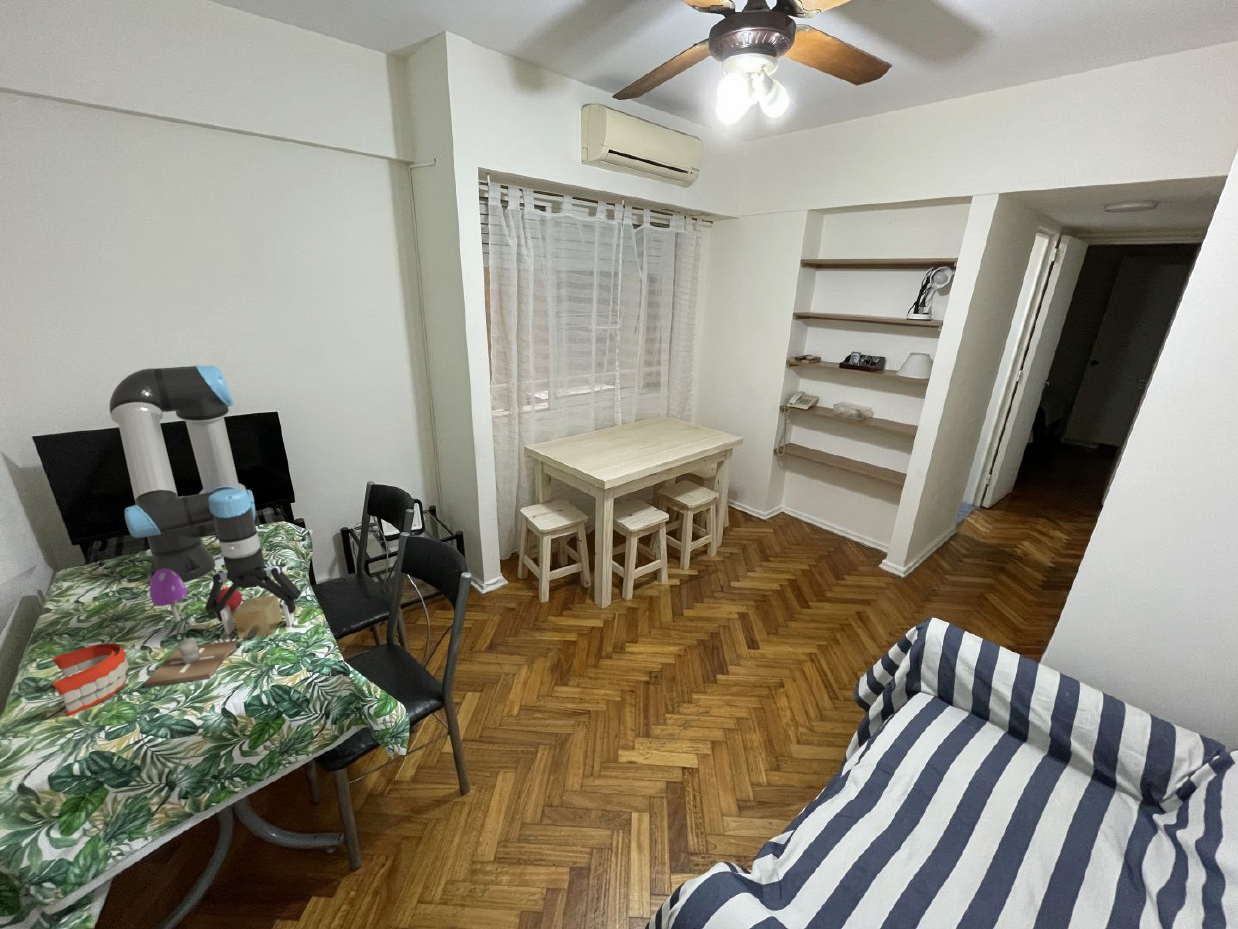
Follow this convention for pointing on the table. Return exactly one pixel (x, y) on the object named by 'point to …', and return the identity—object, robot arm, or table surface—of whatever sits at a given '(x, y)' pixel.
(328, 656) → the table surface
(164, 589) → the toy
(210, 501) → the robot arm
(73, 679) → the toy
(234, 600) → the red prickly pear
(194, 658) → the flat board
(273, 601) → the block with peg
